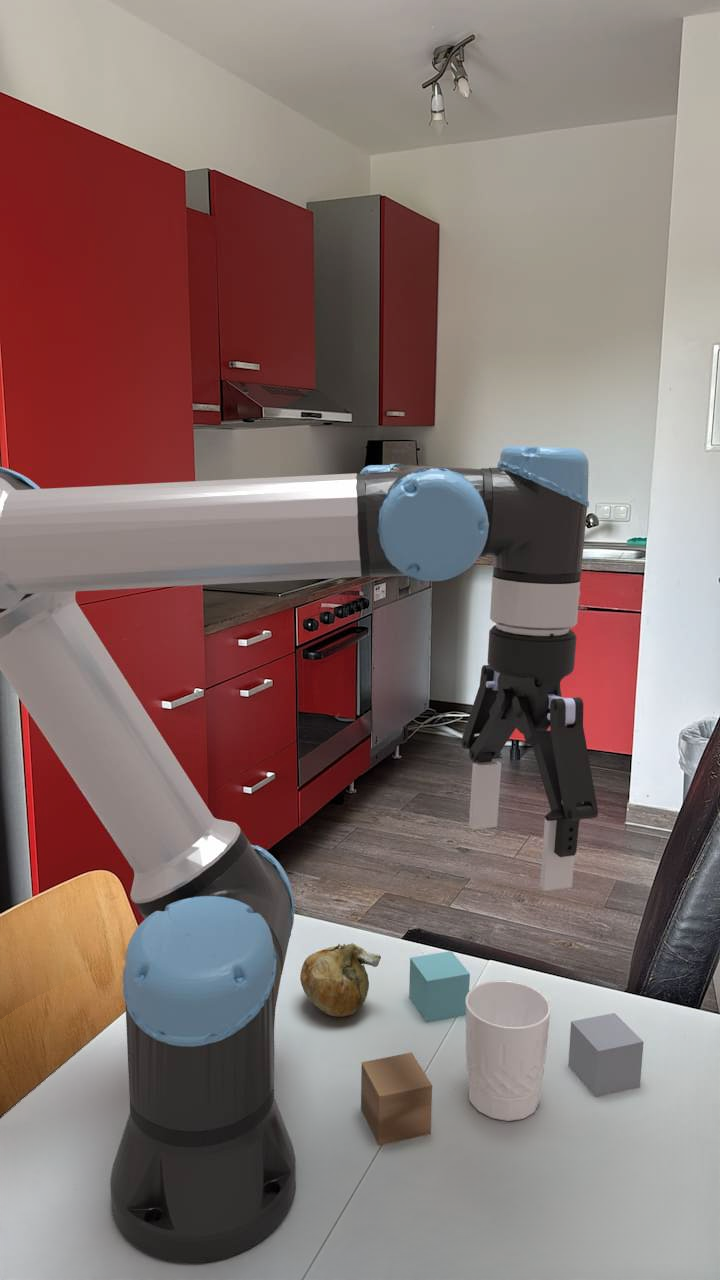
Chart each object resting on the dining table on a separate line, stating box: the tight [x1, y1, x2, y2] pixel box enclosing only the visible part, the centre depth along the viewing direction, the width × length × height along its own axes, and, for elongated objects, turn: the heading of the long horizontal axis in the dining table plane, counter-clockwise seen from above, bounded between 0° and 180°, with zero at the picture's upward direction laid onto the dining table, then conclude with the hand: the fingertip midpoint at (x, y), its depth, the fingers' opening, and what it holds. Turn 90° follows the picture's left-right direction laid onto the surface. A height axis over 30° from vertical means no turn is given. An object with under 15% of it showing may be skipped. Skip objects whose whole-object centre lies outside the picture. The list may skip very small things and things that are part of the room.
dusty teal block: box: [408, 950, 471, 1023], centre depth 106 cm, size 5×5×5 cm
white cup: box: [465, 979, 552, 1122], centre depth 90 cm, size 8×8×10 cm
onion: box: [299, 942, 382, 1018], centre depth 105 cm, size 8×8×8 cm
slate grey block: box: [568, 1012, 645, 1098], centre depth 94 cm, size 5×5×5 cm
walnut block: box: [360, 1052, 433, 1146], centre depth 87 cm, size 5×5×5 cm
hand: (516, 855), depth 87 cm, fingers open, 13 cm apart
